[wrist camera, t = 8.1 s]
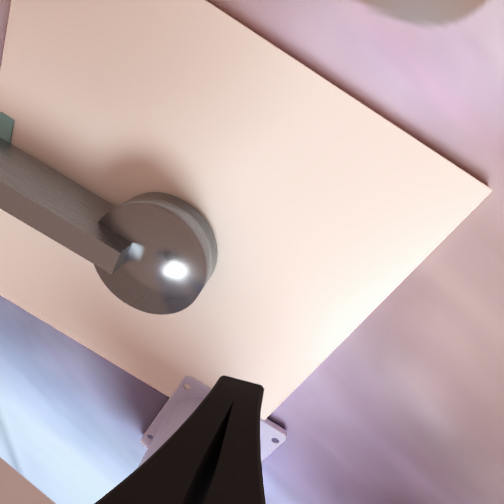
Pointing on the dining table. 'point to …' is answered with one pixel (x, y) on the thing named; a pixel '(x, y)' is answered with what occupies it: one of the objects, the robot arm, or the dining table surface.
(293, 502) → the dining table surface
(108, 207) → the twist lock
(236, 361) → the base
